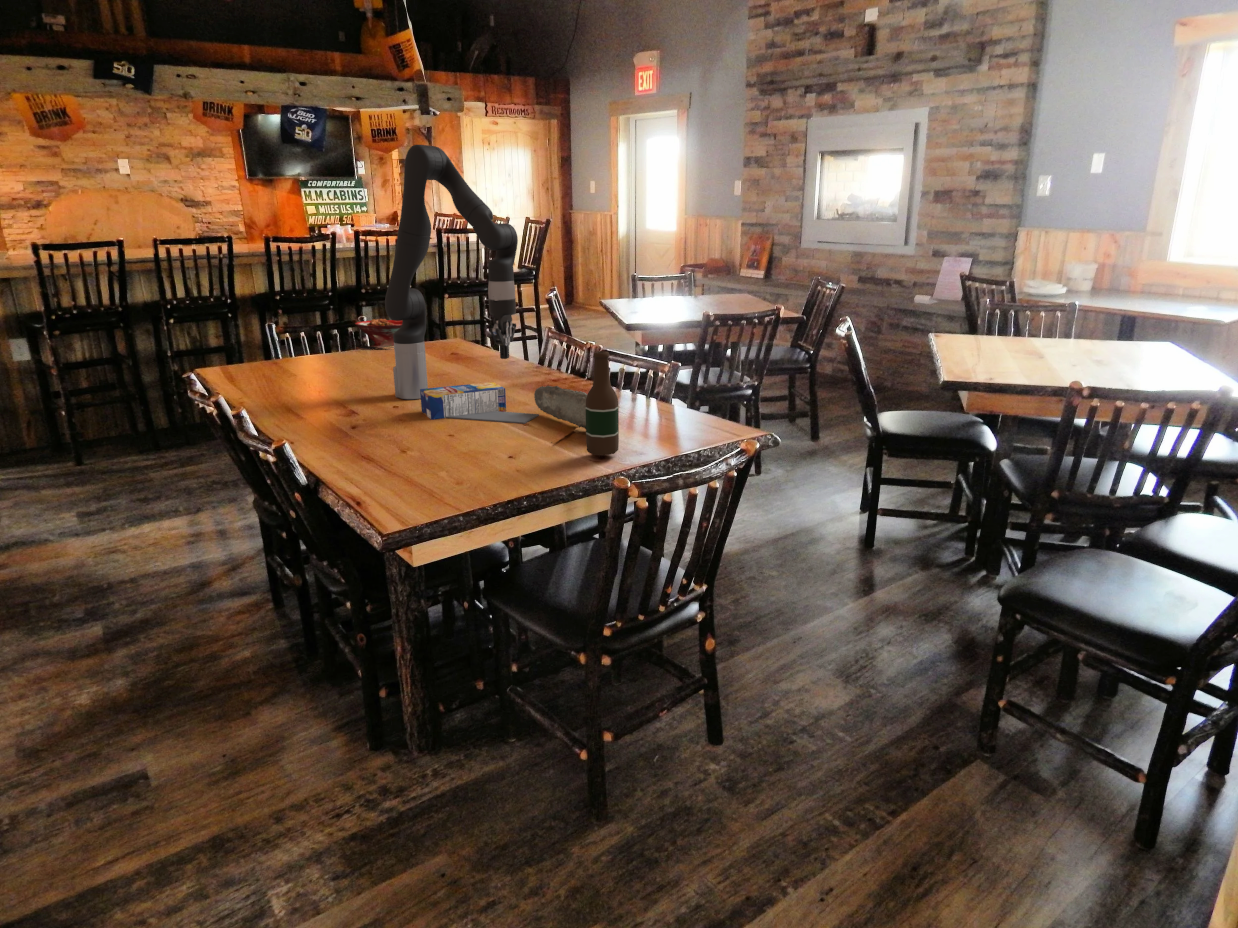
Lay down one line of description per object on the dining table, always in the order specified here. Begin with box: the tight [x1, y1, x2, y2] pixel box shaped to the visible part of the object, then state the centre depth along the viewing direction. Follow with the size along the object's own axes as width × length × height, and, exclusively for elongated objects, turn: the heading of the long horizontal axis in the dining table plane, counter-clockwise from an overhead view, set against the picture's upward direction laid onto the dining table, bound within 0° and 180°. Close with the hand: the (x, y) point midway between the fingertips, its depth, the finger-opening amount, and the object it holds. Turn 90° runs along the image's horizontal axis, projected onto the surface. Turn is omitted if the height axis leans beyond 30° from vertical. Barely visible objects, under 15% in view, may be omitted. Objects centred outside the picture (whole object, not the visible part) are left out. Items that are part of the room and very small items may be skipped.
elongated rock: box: [533, 385, 588, 430], centre depth 222 cm, size 35×5×10 cm, turn 38°
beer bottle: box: [585, 350, 620, 456], centre depth 194 cm, size 8×8×24 cm
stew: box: [354, 318, 403, 351], centre depth 345 cm, size 28×24×16 cm
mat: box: [445, 411, 540, 425], centre depth 232 cm, size 24×10×1 cm, turn 73°
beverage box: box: [420, 381, 507, 421], centre depth 238 cm, size 7×11×22 cm
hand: (504, 358), depth 237 cm, fingers closed
